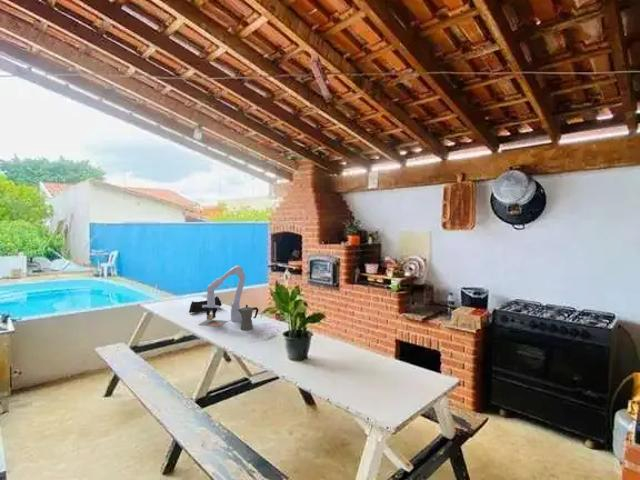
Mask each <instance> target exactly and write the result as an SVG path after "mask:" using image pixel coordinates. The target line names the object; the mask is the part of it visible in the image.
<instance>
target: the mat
mask: <svg viewBox="0 0 640 480" xmlns="http://www.w3.org/2000/svg"><path fill="white" fill-rule="evenodd" d="M228 322H229V320H219V319H212V320H207V319H206V320H204V321H202V322H201V323H198V326H200V327H201V326H202V327H204V326H205V327H215V328H217V327H218V328H219V327H221V326H223V325H225V324H226V323H228Z"/></svg>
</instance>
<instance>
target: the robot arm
mask: <svg viewBox="0 0 640 480" xmlns="http://www.w3.org/2000/svg"><path fill="white" fill-rule="evenodd" d="M234 275H236V276H237V277H238V279H239V280H238V283H237V287H236V290H235V293H234V298H233V300H232V301H231V306H230V307H231V308H230V319H229V320H228V322H237V323H241V322H242V317H241V314H240V312H239V311H238V309H241V308H240V306H241V305H240V301H241V296H242V292H243V289H244V285H245V281H246V274H245V271H244V268H243V267H242V266H241V265H238V264H236V265H234V267H231V268H229V270H228V271H226V272H225V274H223V275H222V276H220V277H217V278H215V279H214V280H213V282H210V284H208V285H207V288H206V291H207V293H206V300H207V305H202V308H205V309H204V310H205V311H204V312H205V314H206V316H207V315H209V314H211V312H212V314H213V318H214V317H215V314H217V311H218V309H221V306H217V305H215V297H216V296H215V295H216V294H215V291H216V290H217V289H218V288H219V287H221V286H222V285H223V283H224V281H226V280H227V279H228V278H229V277H230V276H234ZM210 308H213V309H212V310H210ZM210 311H211V312H210ZM214 319H215V318H214Z"/></svg>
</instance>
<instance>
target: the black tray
mask: <svg viewBox="0 0 640 480" xmlns="http://www.w3.org/2000/svg"><path fill="white" fill-rule="evenodd" d="M202 305H207V299H206V300H201V301H194V300H193V301H192V300H191V303H190V306H189V310H188V313H190V314H193V313H195V314H196V313H203V312H206V311H205V310H204V309H205V308H202ZM215 305H217V306H220V307H221V306H222V301H221V299H220V298H219V296H217V295H216V296H215ZM212 309H213V308H210V311H212Z"/></svg>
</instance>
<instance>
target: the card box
mask: <svg viewBox="0 0 640 480" xmlns="http://www.w3.org/2000/svg"><path fill="white" fill-rule="evenodd" d="M216 314H217V313H216ZM216 314H215V317H214V318H213V313H210V314H209V315H207V314H206V320H215V319H216V318H217V317H216V316H217V315H216Z"/></svg>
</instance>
